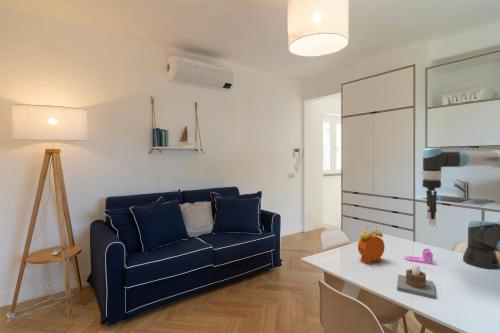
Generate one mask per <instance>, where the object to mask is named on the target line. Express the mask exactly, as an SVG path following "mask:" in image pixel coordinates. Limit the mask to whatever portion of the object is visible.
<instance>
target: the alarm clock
mask: <svg viewBox="0 0 500 333" xmlns="http://www.w3.org/2000/svg"><path fill="white" fill-rule="evenodd" d="M371 226H372V227H373V226H375V229H374V230H372V231H371V232H370V231H368V230H363V231H362V232H361V233H360V235H359V236H360V239H359V241H358V243H357V250H358V252H359V254H360V256H361V257H360V262H362V263H364V264H366V265H369V264H371V263H372V261H373V262H374V261H375V262H377V263H382V262H383V261H382V259H381V257H382V256H383V254H384V252H385V242H384V240H383V239H382V238H383V235H384V234H383V233H382V232H381V231H380V230H378V229H377V225H375V224H374V225H371ZM368 227H369V225H367V226H366V228H368Z"/></svg>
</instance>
